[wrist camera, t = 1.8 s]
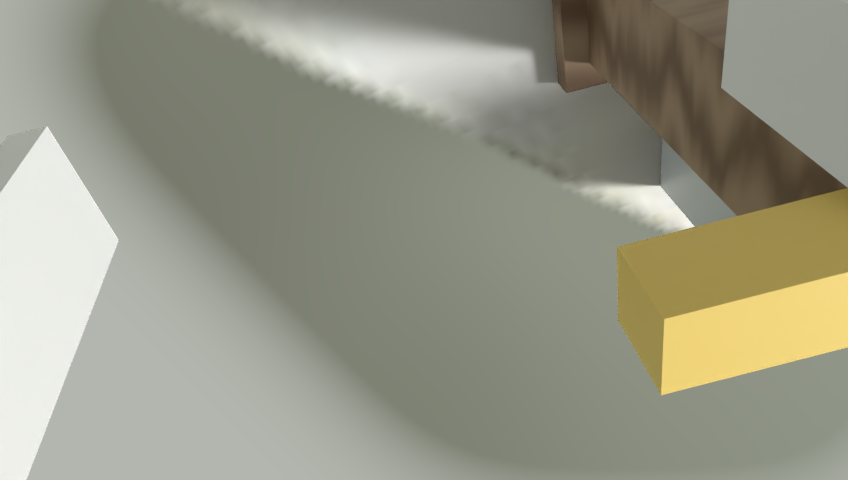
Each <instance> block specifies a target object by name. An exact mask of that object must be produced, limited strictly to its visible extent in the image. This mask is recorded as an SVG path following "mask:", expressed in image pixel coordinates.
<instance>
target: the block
mask: <svg viewBox="0 0 848 480" xmlns="http://www.w3.org/2000/svg"><path fill="white" fill-rule="evenodd" d="M617 273H618V321H619V322H620V324H621V326H622V328H623V329H624V331H625V333H626V335H627V336H628V338H629V340H630V342H631V343H632V345H633V347H634V349H635V350H636V352H637V354H638V356H639V357H640V359H641V361H642V363H643V364H644V366H645V368H646V370H647V371H648V373H649V375H650V377H651V378H652V380H653V382H654V383H655V385H656V387H657V389H658V391H659V392H660V394H661V395H664V394H668V393H671V392H675V391H679V390H683V389H687V388H691V387H695V386H699V385H702V384H707V383H710V382H714V381H718V380H722V379H726V378H730V377H734V376H738V375H742V374H745V373H749V372H753V371H757V370H761V369H765V368H769V367H773V366H776V365H780V364H784V363H788V362H792V361H796V360H800V359H804V358H808V357H812V356H816V355H819V354H823V353H827V352H831V351H835V350H839V349H843V348H847V347H848V188H845V189H841V190H837V191H834V192H830V193H826V194H822V195H818V196H814V197H810V198H806V199H802V200H798V201H794V202H791V203H787V204H783V205H779V206H775V207H771V208H767V209H763V210H759V211H755V212H751V213H748V214H744V215H740V216H736V217H732V218H728V219H724V220H720V221H716V222H712V223H708V224H705V225H701V226H697V227H693V228H689V229H685V230H681V231H677V232H673V233H669V234H666V235H662V236H658V237H654V238H650V239H646V240H642V241H638V242H635V243H630V244H627V245H623V246H619V247H617Z"/></svg>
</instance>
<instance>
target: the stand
mask: <svg viewBox="0 0 848 480" xmlns="http://www.w3.org/2000/svg"><path fill="white" fill-rule="evenodd" d="M552 2H553V16H554V29H555V42H556V55H557V69H558V82H559V84H560V85H561V87H562V88H563V89H564V90H565V92H566V93H568V92H572V91H576V90H580V89H584V88H588V87H592V86H596V85H600V84H603V83H607V82H608V83H609V84H610V85H611V86H612V87H613V88H614V89H615V90H616V91H617V92H618V93H619V94H620V95H621V96H622V97H623V98H624V99H625V100H626V101H627V102H628V103H629V104H630V105H631V106H632V108H633V109H634V110H635V111H636V112H637V113H638V114H639V115H640V116H641V117H642V118H643V119H644V120H645V121H646V122H647V123H648V124H649V125H650V126H651V127H652V128H653V129H654V130H655V131H656V132H657V133H658V134H659V136H660V137H661V138H662V139H663V140H664V141H665V142H666V143H667V144H668V145H669V146H670V147H671V148H672V149H673V150H674V151H675V152H676V153H677V154H678V155H679V156H680V157H681V158H682V159H683V160H684V161H685V162H686V164H687V165H688V166H689V167H690V168H691V169H692V170H693V171H694V172H695V173H696V174H697V175H698V176H699V177H700V178H701V179H702V180H703V181H704V182H705V183H706V184H707V185H708V186H709V187H710V188H711V189H712V190H713V192H714V193H715V194H716V195H717V196H718V197H719V198H720V199H721V200H722V201H723V202H724V203H725V204H726V205H727V206H728V207H729V208H730V209H731V210H732V211H733V212H734V213H735V214H736V215H737V216H740V215H744V214H748V213H751V212H755V211H759V210H763V209H767V208H771V207H775V206H779V205H783V204H787V203H791V202H794V201H798V200H802V199H806V198H810V197H814V196H818V195H822V194H826V193H830V192H834V191H837V190H841V189H845V188H847V187H846V186H845V185H844V184H842V183H841V182H840V181H839V180H837V179H836V178H835V177H834V176H832V175H831V174H830V173H828V172H827V171H826V170H825V169H823V168H822V167H821V166H820V165H818V164H817V163H816V162H815V161H813V160H812V159H811V158H809V157H808V156H807V155H806V154H804V153H803V152H802V151H801V150H799V149H798V148H797V147H796V146H794V145H793V144H792V143H790V142H789V141H788V140H787V139H785V138H784V137H783V136H782V135H780V134H779V133H778V132H777V131H775V130H774V129H773V128H771V127H770V126H769V125H768V124H766V123H765V122H764V121H763V120H761V119H760V118H759V117H758V116H756V115H755V114H754V113H752V112H751V111H750V110H749V109H747V108H746V107H745V106H744V105H742V104H741V103H740V102H739V101H737V100H736V99H735V98H733V97H732V96H731V95H730V94H728V93H727V92H726V91H725V90H723V89H722V88H721V84H722V73H723V62H724V51H725V39H726V28H727V17H728V6H729V0H552Z"/></svg>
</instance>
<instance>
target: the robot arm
mask: <svg viewBox="0 0 848 480" xmlns="http://www.w3.org/2000/svg"><path fill="white" fill-rule="evenodd" d="M721 88H722V89H723V90H725V91H726V92H727V93H728V94H730V95H731V96H732V97H733V98H735V99H736V100H737V101H739V102H740V103H741V104H742V105H744V106H745V107H746V108H747V109H749V110H750V111H751V112H752V113H754V114H755V115H756V116H758V117H759V118H760V119H761V120H763V121H764V122H765V123H766V124H768V125H769V126H770V127H771V128H773V129H774V130H775V131H777V132H778V133H779V134H780V135H782V136H783V137H784V138H785V139H787V140H788V141H789V142H790V143H792V144H793V145H794V146H796V147H797V148H798V149H799V150H801V151H802V152H803V153H804V154H806V155H807V156H808V157H809V158H811V159H812V160H813V161H815V162H816V163H817V164H818V165H820V166H821V167H822V168H823V169H825V170H826V171H827V172H828V173H830V174H831V175H832V176H834V177H835V178H836V179H837V180H839V181H840V182H841V183H842V184H844V185H845V186H846V187H847V188H848V0H729V6H728V17H727V28H726V39H725V51H724V62H723V73H722V84H721ZM118 241H119V240H118V239H117V237H116V235H115V234H114V232H113V230H112V229H111V227H110V226H109V224H108V222H107V221H106V219H105V218H104V216H103V214H102V213H101V211H100V210H99V208H98V207H97V205H96V203H95V202H94V200H93V198H92V197H91V195H90V194H89V192H88V191H87V189H86V187H85V186H84V184H83V183H82V181H81V179H80V178H79V176H78V175H77V173H76V171H75V170H74V168H73V167H72V165H71V164H70V162H69V160H68V159H67V157H66V155H65V154H64V152H63V151H62V149H61V148H60V146H59V144H58V143H57V141H56V140H55V138H54V136H53V135H52V133H51V132H50V130H49V128H48V127H47V126H46V127H42V128H38V129H34V130H30V131H26V132H22V133H18V134H14V135H10V136H7V137H6V138H5V140H4V141H3V142H2V144H1V145H0V480H26V479H27V477H28V474H29V472H30V469H31V466H32V464H33V461H34V459H35V456H36V453H37V451H38V448H39V446H40V443H41V440H42V438H43V435H44V432H45V430H46V427H47V425H48V422H49V420H50V417H51V415H52V412H53V409H54V407H55V404H56V402H57V399H58V396H59V394H60V391H61V389H62V386H63V383H64V381H65V378H66V376H67V373H68V370H69V368H70V365H71V363H72V360H73V357H74V355H75V352H76V350H77V347H78V344H79V342H80V339H81V337H82V334H83V331H84V329H85V326H86V324H87V321H88V318H89V316H90V313H91V311H92V308H93V306H94V303H95V300H96V298H97V295H98V293H99V290H100V288H101V285H102V282H103V280H104V277H105V274H106V272H107V269H108V267H109V264H110V262H111V259H112V256H113V254H114V251H115V249H116V246H117V243H118Z"/></svg>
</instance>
